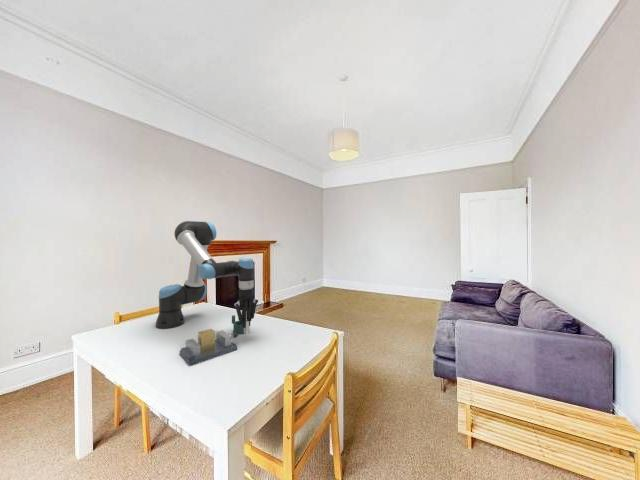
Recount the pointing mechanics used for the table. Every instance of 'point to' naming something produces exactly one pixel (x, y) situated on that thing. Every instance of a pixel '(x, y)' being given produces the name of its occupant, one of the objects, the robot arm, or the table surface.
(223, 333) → the free jaw
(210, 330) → the brass block
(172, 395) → the table surface
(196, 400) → the table surface
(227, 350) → the vise
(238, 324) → the bracket
